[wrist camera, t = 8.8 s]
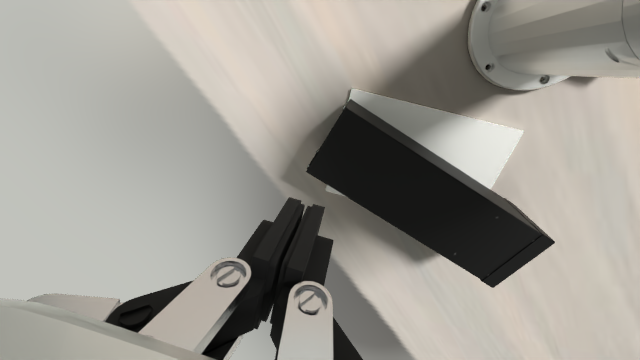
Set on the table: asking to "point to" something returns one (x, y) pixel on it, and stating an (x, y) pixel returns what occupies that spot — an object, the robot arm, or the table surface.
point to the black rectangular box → (426, 196)
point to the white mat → (446, 135)
